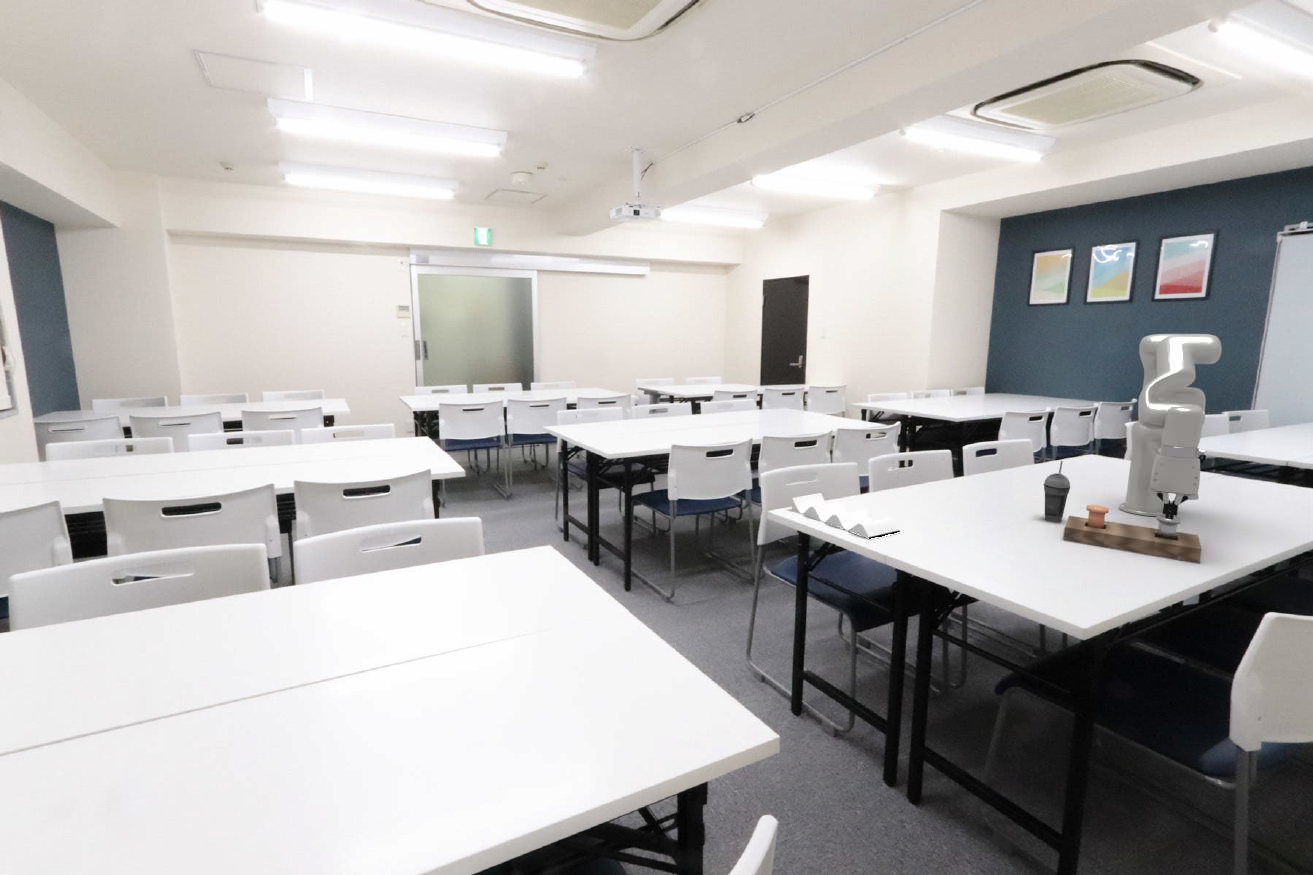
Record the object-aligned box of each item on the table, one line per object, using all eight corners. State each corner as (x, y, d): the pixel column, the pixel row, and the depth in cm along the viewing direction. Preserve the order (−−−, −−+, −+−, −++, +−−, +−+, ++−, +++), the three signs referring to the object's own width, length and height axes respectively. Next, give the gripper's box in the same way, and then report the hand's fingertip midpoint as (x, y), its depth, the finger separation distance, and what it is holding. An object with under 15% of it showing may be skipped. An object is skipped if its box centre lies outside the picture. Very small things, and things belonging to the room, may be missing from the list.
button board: (1195, 548, 169) (1197, 535, 169) (1199, 563, 158) (1201, 549, 158) (1067, 527, 188) (1069, 515, 187) (1063, 539, 177) (1064, 526, 176)
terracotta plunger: (1106, 528, 178) (1109, 507, 177) (1105, 532, 174) (1108, 511, 173) (1084, 524, 181) (1087, 504, 180) (1083, 529, 177) (1086, 508, 176)
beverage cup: (1058, 517, 198) (1065, 458, 195) (1071, 524, 191) (1078, 462, 188) (1035, 516, 199) (1041, 457, 196) (1047, 523, 192) (1053, 462, 188)
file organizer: (871, 542, 178) (872, 525, 177) (791, 512, 208) (792, 497, 207) (901, 535, 184) (903, 519, 183) (820, 506, 214) (821, 492, 213)
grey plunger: (1177, 539, 168) (1180, 517, 167) (1178, 544, 164) (1181, 521, 163) (1153, 535, 171) (1156, 513, 170) (1153, 540, 167) (1156, 518, 166)
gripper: (1214, 453, 162) (1204, 519, 165) (1143, 447, 171) (1134, 509, 174) (1217, 457, 156) (1206, 525, 159) (1143, 451, 165) (1134, 515, 168)
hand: (1169, 517), depth 166 cm, fingers closed
